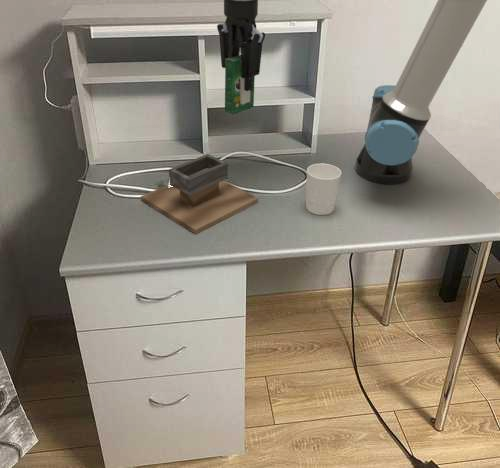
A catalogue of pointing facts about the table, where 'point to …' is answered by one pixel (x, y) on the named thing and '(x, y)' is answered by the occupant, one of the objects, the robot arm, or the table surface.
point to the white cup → (322, 188)
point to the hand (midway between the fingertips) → (239, 100)
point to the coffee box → (235, 86)
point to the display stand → (199, 194)
